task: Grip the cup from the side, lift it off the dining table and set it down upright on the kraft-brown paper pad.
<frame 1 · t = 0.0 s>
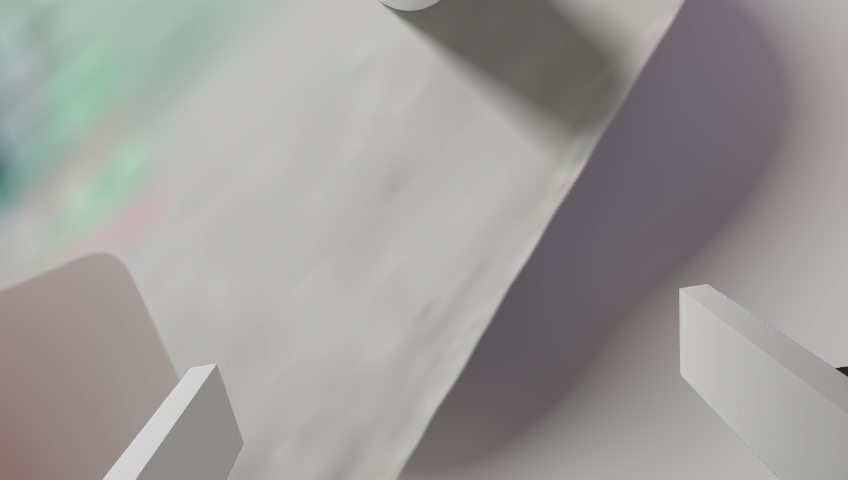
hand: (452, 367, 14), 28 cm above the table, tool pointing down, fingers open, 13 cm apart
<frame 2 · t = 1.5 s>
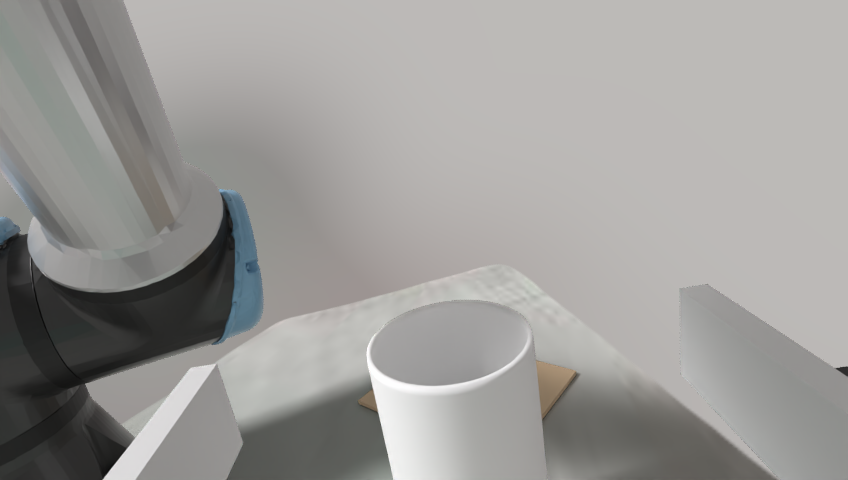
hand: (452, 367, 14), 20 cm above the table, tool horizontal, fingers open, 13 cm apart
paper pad: (466, 389, 46), on the table
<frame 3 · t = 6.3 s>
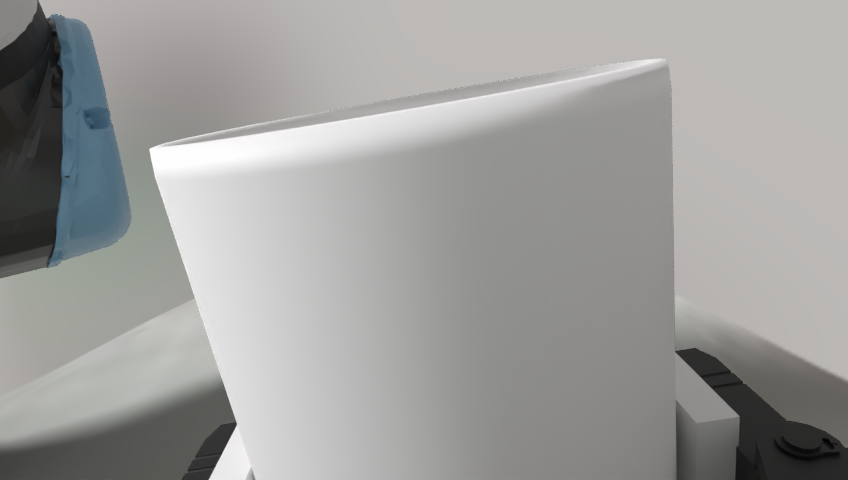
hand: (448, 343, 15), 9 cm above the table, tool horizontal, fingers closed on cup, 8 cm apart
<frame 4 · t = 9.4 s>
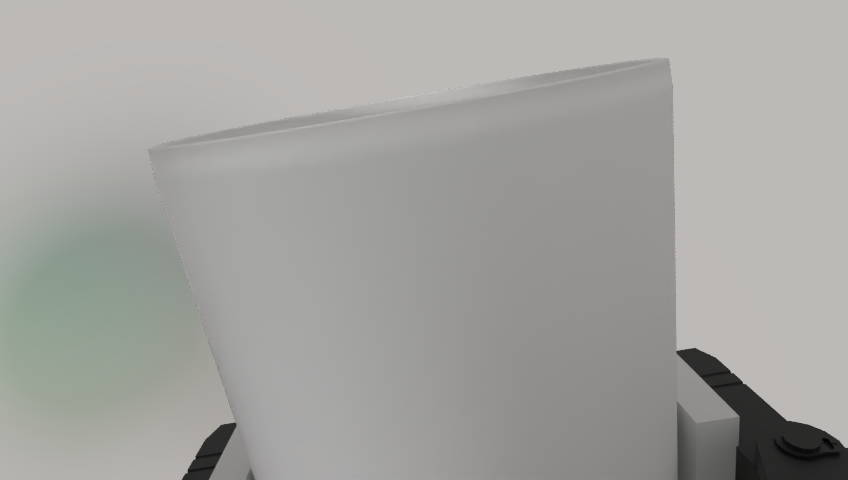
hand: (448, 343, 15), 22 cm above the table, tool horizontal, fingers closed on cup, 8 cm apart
when the fingers open (10 cm above the table, at t = 12.6 s): cup drops 1 cm, resting on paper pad.
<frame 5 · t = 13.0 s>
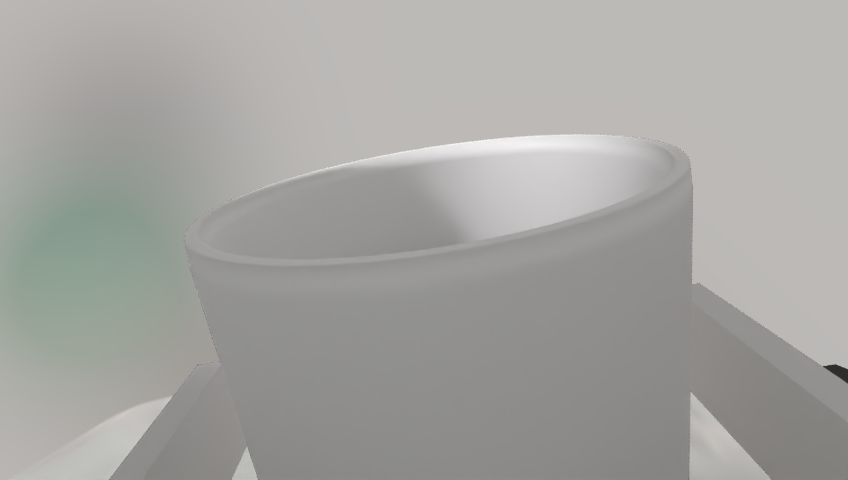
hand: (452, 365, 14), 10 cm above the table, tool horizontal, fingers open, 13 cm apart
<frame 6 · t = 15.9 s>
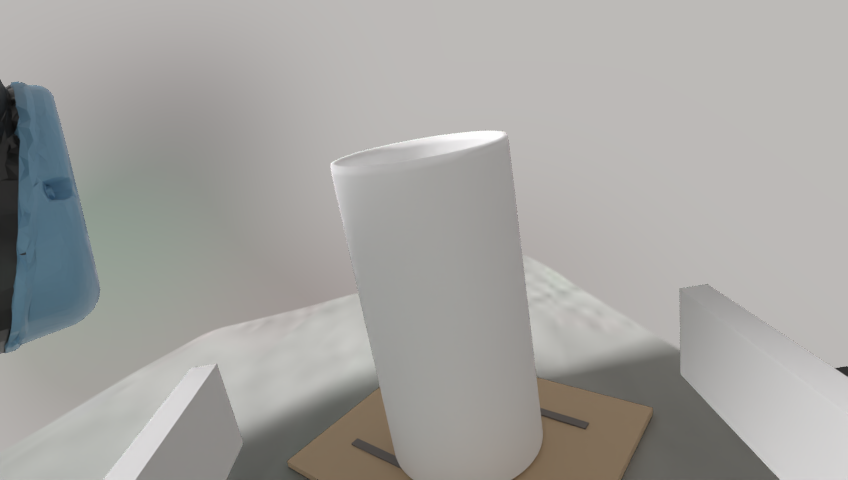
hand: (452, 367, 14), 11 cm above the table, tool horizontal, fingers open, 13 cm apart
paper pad: (467, 440, 27), on the table
cup: (467, 437, 27), resting on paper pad
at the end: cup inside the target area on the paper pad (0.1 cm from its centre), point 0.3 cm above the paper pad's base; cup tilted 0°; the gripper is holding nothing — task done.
